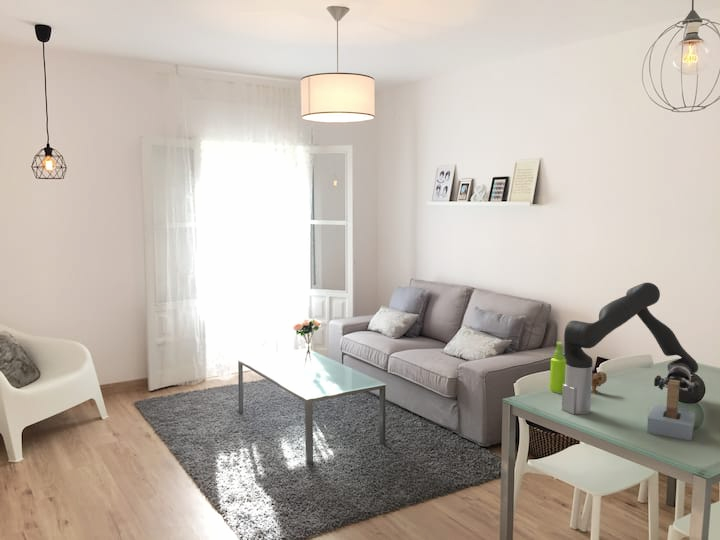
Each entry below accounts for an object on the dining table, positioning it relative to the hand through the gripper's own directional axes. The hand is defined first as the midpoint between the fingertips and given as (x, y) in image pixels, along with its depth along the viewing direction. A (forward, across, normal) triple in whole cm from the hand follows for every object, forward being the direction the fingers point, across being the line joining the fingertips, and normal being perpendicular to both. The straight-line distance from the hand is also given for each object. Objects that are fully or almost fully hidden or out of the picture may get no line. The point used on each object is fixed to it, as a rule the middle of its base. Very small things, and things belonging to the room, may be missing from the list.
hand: (675, 388), depth 210 cm
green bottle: (-15, -44, +12) cm, 48 cm away
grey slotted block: (+8, 0, +12) cm, 14 cm away
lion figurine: (-22, -32, +12) cm, 41 cm away
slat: (+8, 0, +12) cm, 14 cm away
